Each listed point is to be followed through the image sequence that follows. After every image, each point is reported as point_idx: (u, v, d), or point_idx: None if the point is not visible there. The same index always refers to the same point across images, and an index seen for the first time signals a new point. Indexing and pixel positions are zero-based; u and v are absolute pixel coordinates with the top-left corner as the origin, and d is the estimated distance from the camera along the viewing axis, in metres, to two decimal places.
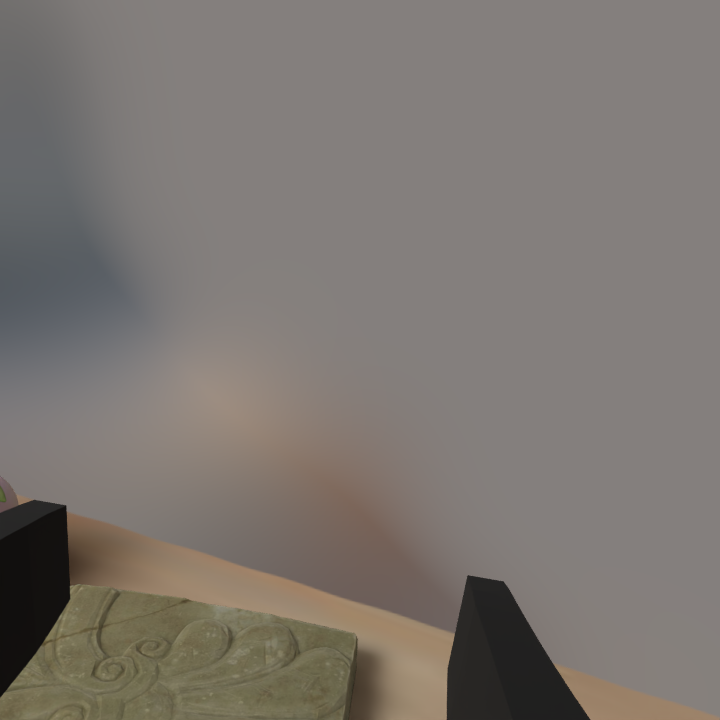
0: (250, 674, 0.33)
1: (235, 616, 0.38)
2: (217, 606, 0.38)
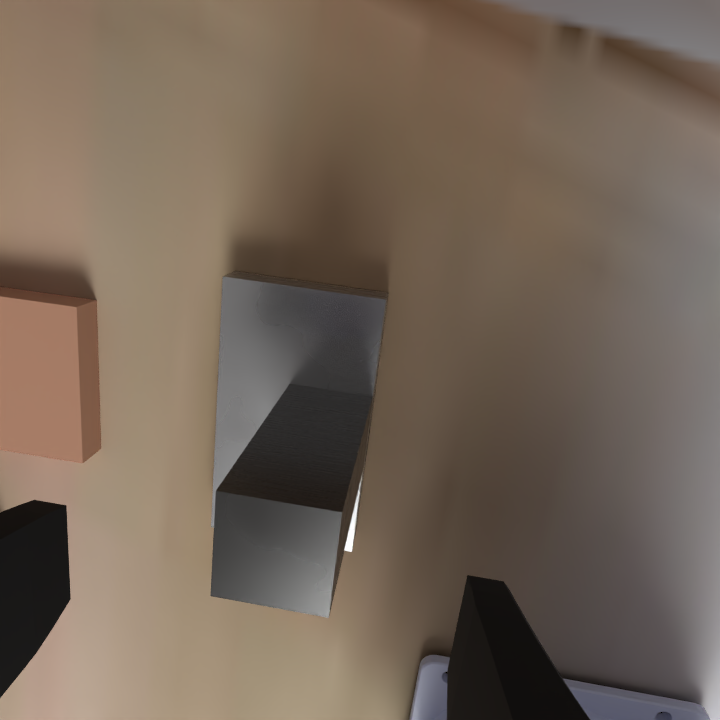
0: None
1: None
2: None
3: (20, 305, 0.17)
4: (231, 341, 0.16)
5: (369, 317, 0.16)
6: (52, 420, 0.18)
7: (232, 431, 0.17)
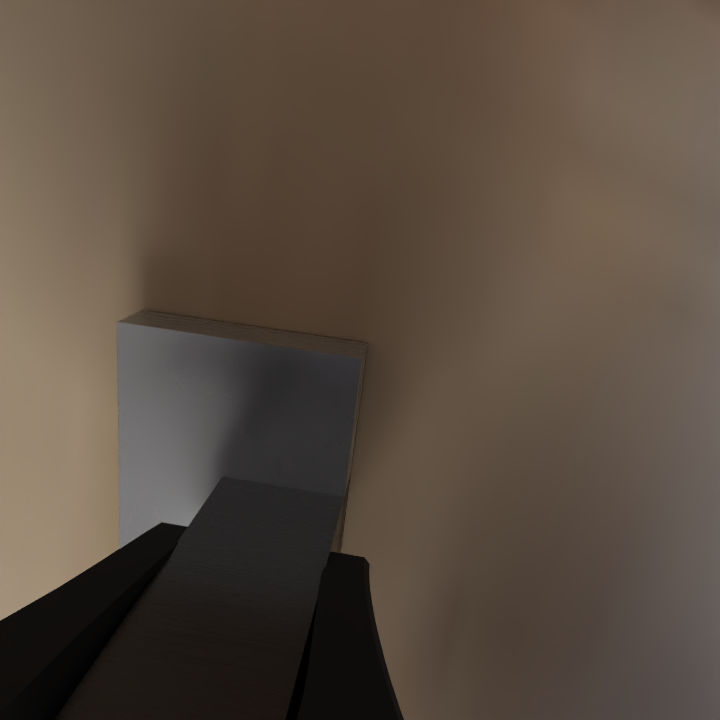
0: None
1: None
2: None
3: None
4: (136, 416, 0.11)
5: (337, 385, 0.10)
6: None
7: None
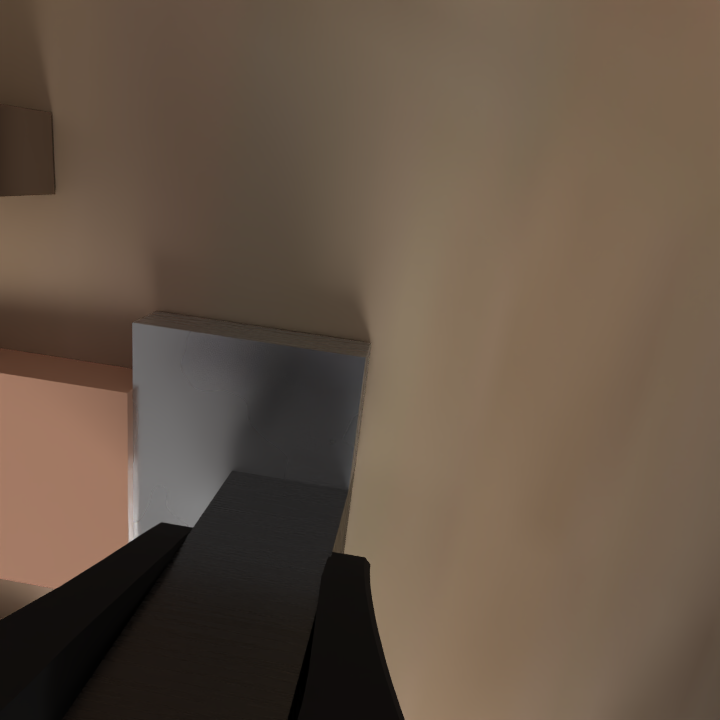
0: None
1: None
2: None
3: (44, 388, 0.11)
4: (149, 412, 0.12)
5: (342, 382, 0.11)
6: (86, 545, 0.12)
7: None
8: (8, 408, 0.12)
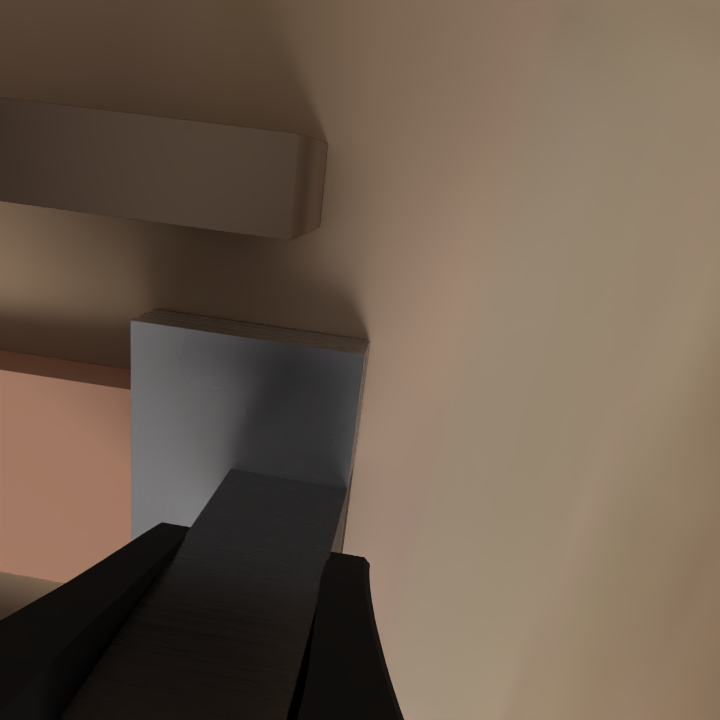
0: None
1: None
2: None
3: (49, 385, 0.12)
4: (147, 410, 0.12)
5: (341, 381, 0.11)
6: (91, 539, 0.13)
7: None
8: (15, 406, 0.12)
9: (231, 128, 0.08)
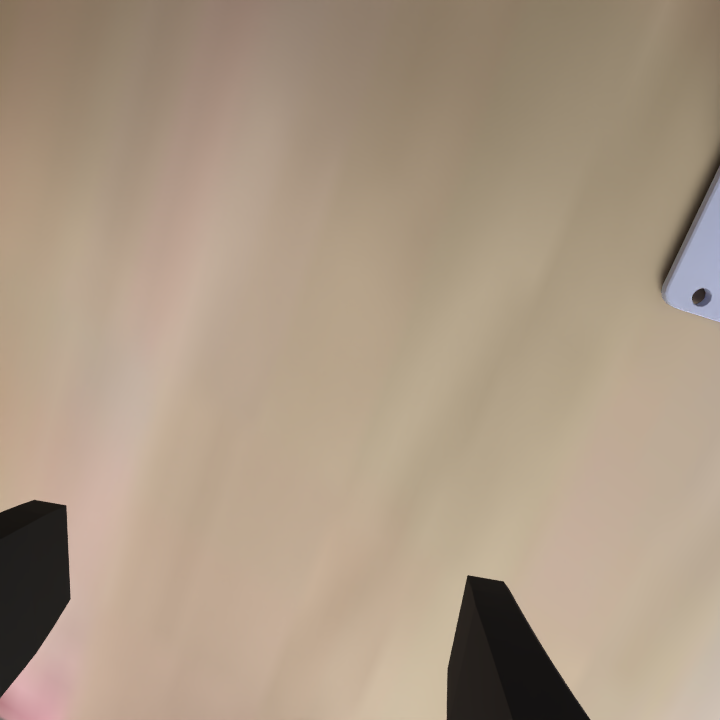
0: None
1: None
2: None
3: None
4: None
5: None
6: None
7: None
8: None
9: None
